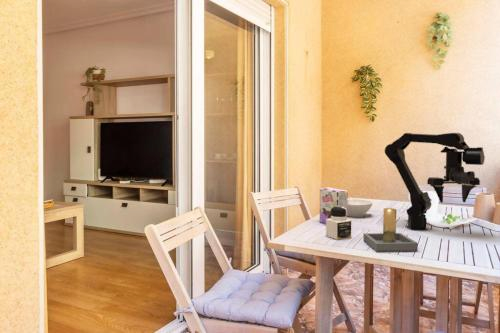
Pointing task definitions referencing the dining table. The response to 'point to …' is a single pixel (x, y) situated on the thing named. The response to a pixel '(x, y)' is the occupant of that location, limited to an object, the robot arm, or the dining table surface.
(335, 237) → the medicine bottle
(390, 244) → the tray
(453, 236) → the dining table surface
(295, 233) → the dining table surface
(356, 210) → the bowl
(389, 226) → the golden metal cylinder
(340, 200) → the candy box
